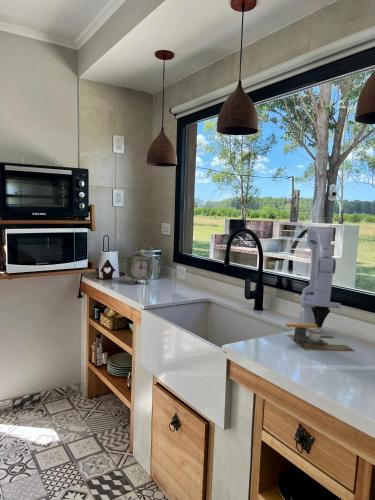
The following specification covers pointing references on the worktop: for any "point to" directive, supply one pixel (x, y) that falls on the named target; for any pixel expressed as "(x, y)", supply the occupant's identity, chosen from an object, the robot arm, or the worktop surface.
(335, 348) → the board
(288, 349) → the worktop surface
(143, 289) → the worktop surface
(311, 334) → the plug
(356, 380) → the worktop surface
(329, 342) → the sage mat
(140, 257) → the tabletop clock
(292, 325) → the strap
